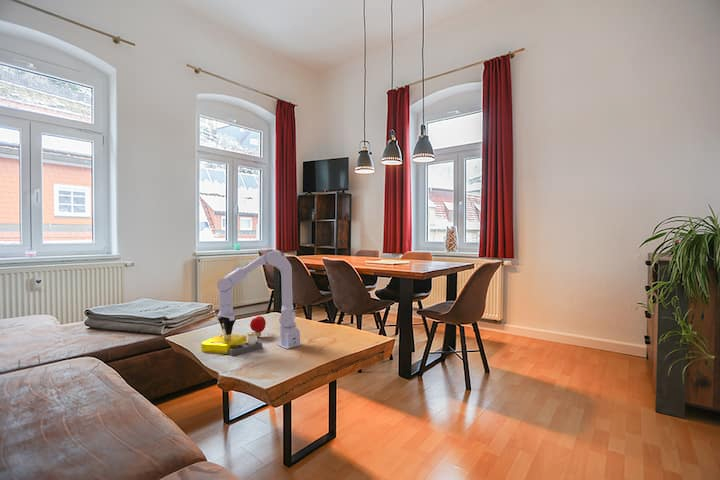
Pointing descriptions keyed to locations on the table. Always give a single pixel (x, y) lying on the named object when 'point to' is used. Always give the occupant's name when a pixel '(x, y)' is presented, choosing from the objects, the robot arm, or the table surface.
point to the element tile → (222, 343)
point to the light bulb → (258, 325)
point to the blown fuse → (225, 333)
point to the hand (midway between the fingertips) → (227, 333)
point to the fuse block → (244, 348)
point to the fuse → (251, 338)
